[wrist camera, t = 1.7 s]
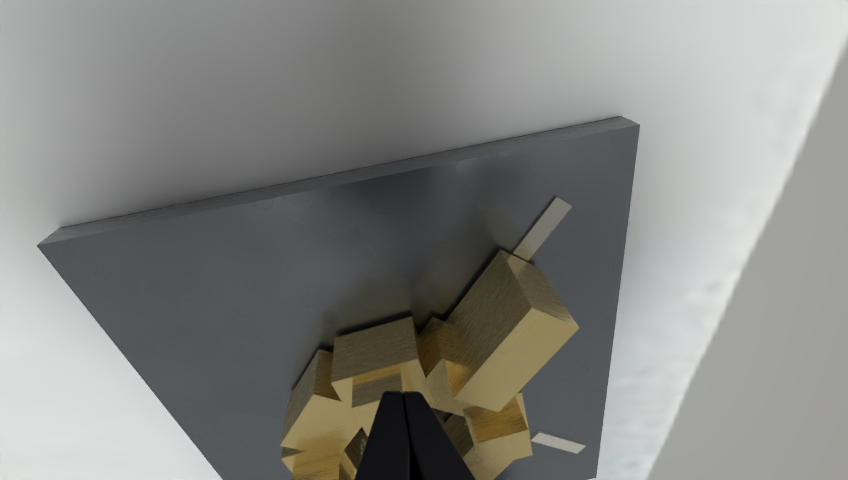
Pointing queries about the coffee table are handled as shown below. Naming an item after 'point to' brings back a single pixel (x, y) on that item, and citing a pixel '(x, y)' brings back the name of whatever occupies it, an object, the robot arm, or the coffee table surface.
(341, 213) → the cap plate
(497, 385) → the blocky gold gear ring
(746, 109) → the coffee table surface
